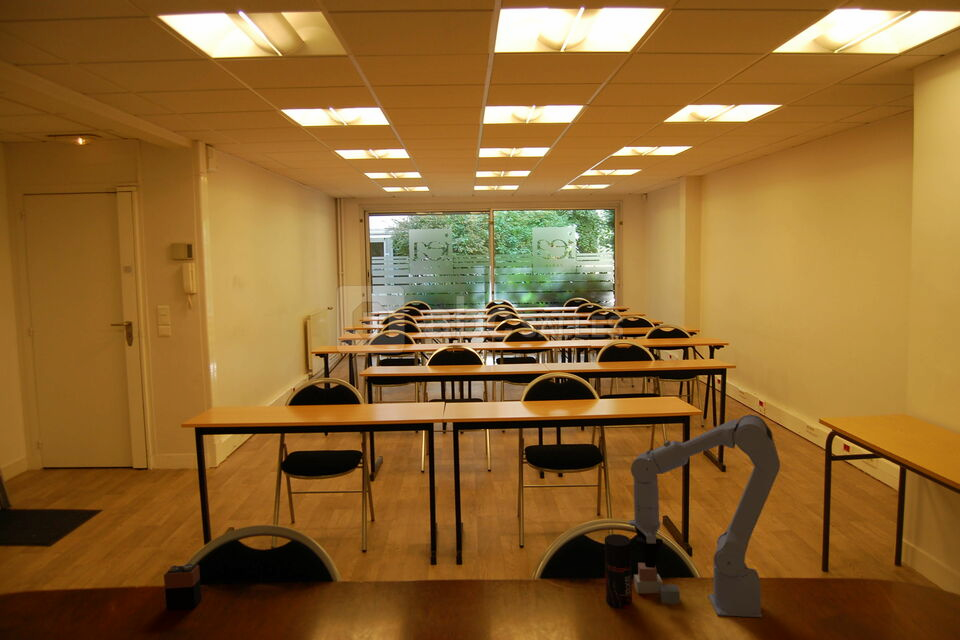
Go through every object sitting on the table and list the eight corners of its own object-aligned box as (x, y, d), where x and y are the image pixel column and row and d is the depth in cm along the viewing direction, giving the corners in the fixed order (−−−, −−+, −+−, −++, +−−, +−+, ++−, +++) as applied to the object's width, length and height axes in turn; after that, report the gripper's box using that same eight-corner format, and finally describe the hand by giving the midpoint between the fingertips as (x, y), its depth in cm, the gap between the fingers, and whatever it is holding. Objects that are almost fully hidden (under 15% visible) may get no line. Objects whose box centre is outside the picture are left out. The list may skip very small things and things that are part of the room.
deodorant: (626, 611, 129) (624, 548, 128) (601, 603, 133) (600, 541, 132) (636, 599, 134) (634, 538, 133) (612, 592, 138) (611, 532, 137)
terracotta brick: (655, 575, 139) (654, 563, 139) (657, 581, 136) (656, 569, 136) (638, 574, 140) (638, 562, 140) (639, 580, 137) (639, 568, 137)
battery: (194, 609, 138) (191, 569, 137) (165, 611, 137) (162, 571, 137) (202, 599, 142) (199, 560, 141) (174, 601, 142) (171, 562, 141)
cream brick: (658, 585, 140) (658, 574, 140) (662, 593, 137) (662, 581, 136) (634, 586, 140) (633, 574, 140) (637, 594, 137) (637, 582, 137)
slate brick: (677, 597, 135) (676, 584, 135) (679, 604, 132) (679, 591, 132) (659, 596, 135) (659, 584, 135) (661, 603, 132) (661, 591, 132)
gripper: (626, 492, 145) (627, 544, 146) (632, 516, 130) (634, 573, 131) (654, 492, 144) (656, 545, 144) (664, 516, 129) (666, 574, 130)
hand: (647, 558), depth 138 cm, fingers open, 7 cm apart
